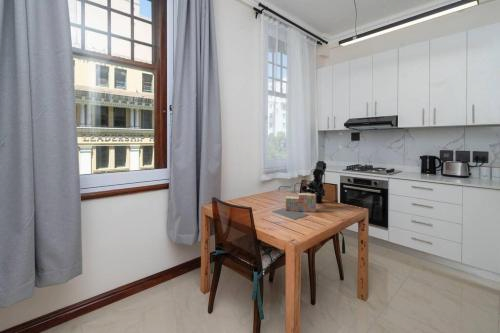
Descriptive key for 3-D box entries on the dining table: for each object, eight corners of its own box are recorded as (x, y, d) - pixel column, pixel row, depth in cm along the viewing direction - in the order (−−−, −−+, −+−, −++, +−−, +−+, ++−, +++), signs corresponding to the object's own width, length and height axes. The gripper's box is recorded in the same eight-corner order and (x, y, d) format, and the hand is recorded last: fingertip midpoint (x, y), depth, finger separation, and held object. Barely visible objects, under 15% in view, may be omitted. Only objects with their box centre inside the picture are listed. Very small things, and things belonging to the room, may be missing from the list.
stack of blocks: (285, 210, 176) (286, 194, 175) (285, 208, 182) (285, 192, 181) (315, 212, 174) (316, 195, 173) (314, 209, 180) (314, 193, 179)
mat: (285, 208, 184) (285, 207, 184) (308, 215, 167) (308, 214, 167) (271, 211, 176) (271, 211, 176) (294, 219, 158) (294, 218, 158)
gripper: (301, 174, 190) (292, 190, 185) (322, 177, 175) (312, 194, 170) (308, 183, 196) (298, 199, 190) (328, 187, 181) (318, 204, 176)
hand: (306, 199), depth 181 cm, fingers closed
